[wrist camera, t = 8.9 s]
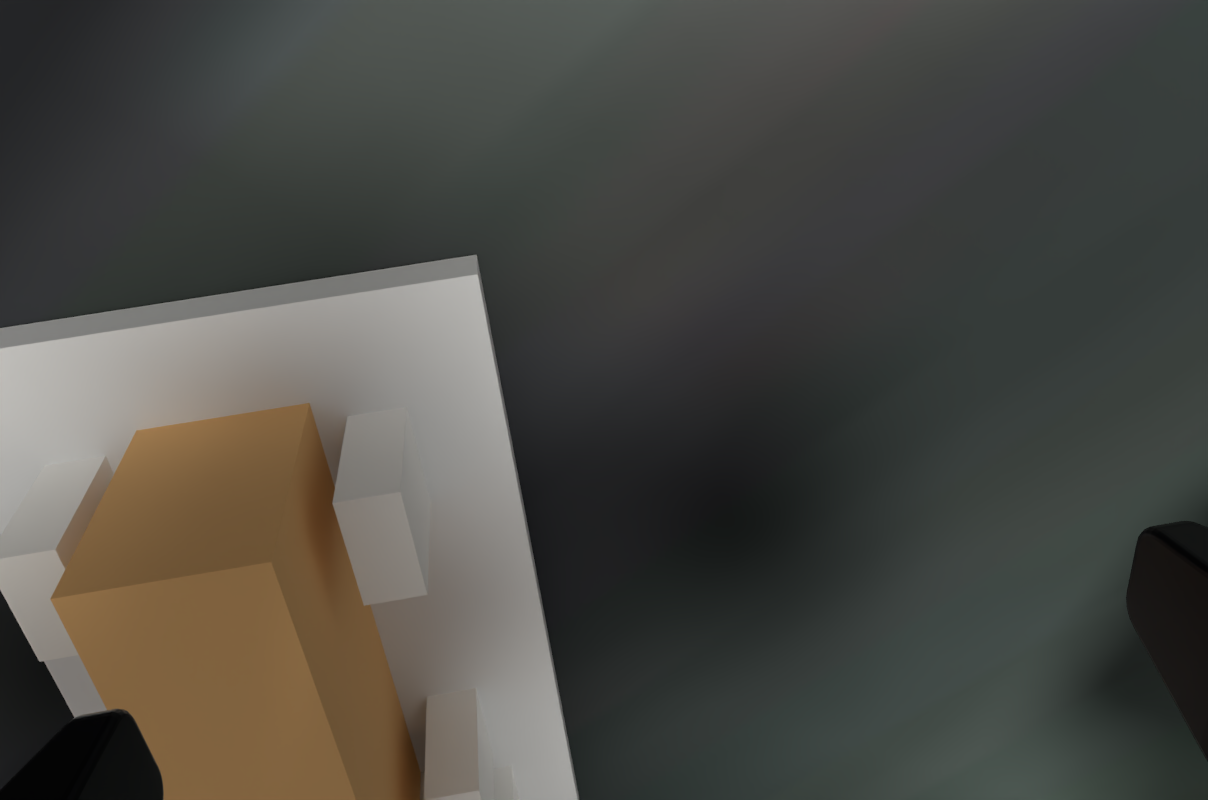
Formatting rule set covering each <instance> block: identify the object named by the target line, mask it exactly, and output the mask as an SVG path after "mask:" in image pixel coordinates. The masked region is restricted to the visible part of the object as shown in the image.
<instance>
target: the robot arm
mask: <svg viewBox="0 0 1208 800" xmlns="http://www.w3.org/2000/svg"><path fill="white" fill-rule="evenodd" d="M1126 603H1127V610H1128V614H1129V617H1130V620H1131V622H1132V624H1133V626H1134V628H1135V630H1136V632H1137V634H1138V636H1139V637H1140V639H1141V641H1142V643H1143V645H1144V647H1145V648H1146V650H1147V652H1148V654H1149V656H1150V658H1151V659H1152V661H1153V663H1154V665H1155V667H1156V669H1157V670H1158V672H1159V674H1160V676H1161V678H1162V680H1163V681H1164V683H1165V685H1166V687H1167V689H1168V691H1169V692H1170V694H1171V696H1172V698H1173V700H1174V702H1175V703H1176V705H1177V707H1178V709H1179V711H1180V713H1181V714H1182V716H1183V718H1184V720H1185V722H1186V723H1187V725H1188V727H1189V729H1190V731H1191V733H1192V734H1193V736H1194V738H1195V740H1196V742H1197V744H1198V745H1199V747H1200V749H1201V751H1202V752H1203V754H1204V756H1205V758H1206V759H1207V761H1208V528H1207V527H1205V526H1203V525H1200V524H1197V523H1195V522H1190V521H1180V522H1175V523H1169V524H1163V525H1158V526H1152V527H1149V528H1147V529H1145V530H1144V531H1143V532H1142V533H1141V534H1140V536H1139V537H1138V540H1137V544H1136V549H1135V554H1134V559H1133V564H1132V569H1131V574H1130V579H1129V584H1128V589H1127V595H1126ZM163 797H164V791H163V780H162V776H161V772H160V770H159V767H158V765H157V763H156V761H155V759H154V757H153V755H152V753H151V751H150V749H149V747H148V745H147V743H146V741H145V739H144V737H143V735H142V733H141V731H140V729H139V727H138V725H137V723H136V721H135V719H134V718H133V716H132V715H131V714H130V713H129V712H128V711H126V710H124V709H112V710H106V711H100V712H95V713H89V714H83V715H80V716H77V717H75V718H73V719H72V720H70V721H69V722H68V723H67V724H66V725H65V726H64V727H63V728H62V729H61V730H60V731H59V732H58V733H57V734H56V735H55V736H54V737H53V738H52V739H51V740H50V741H49V742H48V743H47V744H46V745H45V746H44V747H43V748H42V749H41V750H40V751H39V752H38V753H37V754H36V755H35V756H34V757H33V758H32V759H31V760H30V761H29V762H28V763H27V764H26V765H25V766H24V767H23V768H22V769H21V770H20V771H19V772H18V773H17V774H16V775H15V776H14V777H13V778H12V779H11V780H10V781H9V782H8V783H7V784H6V785H5V786H4V787H3V788H2V789H1V790H0V800H163Z"/></svg>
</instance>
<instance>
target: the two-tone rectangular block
mask: <svg viewBox="0 0 1208 800" xmlns="http://www.w3.org/2000/svg"><path fill="white" fill-rule="evenodd" d="M334 491H335V486H334V482H333V479H332V476H331V473H330V469H329V466H328V463H327V459H326V456H325V453H324V449H323V446H322V443H321V439H320V436H319V433H318V429H317V426H316V423H315V419H314V416H313V413H312V409H311V406H310V403H306V404H299V405H293V406H287V407H281V408H274V409H268V410H262V411H256V412H249V413H243V414H237V415H230V416H224V417H218V418H212V419H205V420H199V421H193V422H187V423H180V424H174V425H168V426H161V427H155V428H149V429H143V430H136V432H135V434H134V436H133V438H132V440H131V442H130V444H129V446H128V448H127V450H126V452H125V454H124V456H123V458H122V460H121V462H120V464H119V466H118V468H117V469H116V471H115V473H114V475H113V477H112V479H111V481H110V483H109V485H108V487H107V489H106V491H105V493H104V495H103V497H102V499H101V501H100V503H99V505H98V507H97V509H96V511H95V513H94V514H93V516H92V518H91V520H90V522H89V524H88V526H87V528H86V530H85V532H84V534H83V536H82V538H81V540H80V542H79V544H78V546H77V548H76V550H75V552H74V554H73V556H72V558H71V559H70V561H69V563H68V565H67V567H66V569H65V571H64V573H63V575H62V577H61V579H60V581H59V583H58V585H57V587H56V589H55V591H54V593H53V595H52V597H51V599H50V600H51V602H52V604H53V606H54V607H55V609H56V611H57V613H58V615H59V617H60V619H61V621H62V623H63V625H64V627H65V629H66V631H67V633H68V635H69V637H70V639H71V641H72V643H73V645H74V647H75V648H76V650H77V652H78V654H79V656H80V658H81V660H82V662H83V664H84V666H85V668H86V670H87V672H88V674H89V676H90V678H91V680H92V682H93V684H94V686H95V687H96V689H97V691H98V693H99V695H100V697H101V699H102V701H103V703H104V705H105V707H106V709H107V710H112V709H124V710H126V711H128V712H129V713H130V714H131V715H132V716H133V718H134V719H135V721H136V723H137V725H138V727H139V729H140V731H141V733H142V735H143V737H144V739H145V741H146V743H147V745H148V747H149V749H150V751H151V753H152V755H153V757H154V759H155V761H156V763H157V765H158V767H159V770H160V772H161V776H162V780H163V791H164V797H163V800H424V781H425V772H421V771H420V768H419V765H418V761H417V758H416V755H415V752H414V748H413V745H412V742H411V738H410V735H409V732H408V728H407V725H406V722H405V718H404V715H403V712H402V708H401V705H400V702H399V698H398V695H397V692H396V688H395V685H394V682H393V678H392V675H391V672H390V668H389V665H388V662H387V659H386V655H385V652H384V649H383V645H382V642H381V639H380V635H379V632H378V629H377V625H376V622H375V619H374V615H373V612H372V609H371V605H365V606H364V604H363V601H362V598H361V594H360V591H359V588H358V585H357V582H356V578H355V575H354V572H353V569H352V565H351V562H350V559H349V556H348V552H347V549H346V546H345V543H344V539H343V536H342V533H341V530H340V526H339V523H338V520H337V517H336V513H335V510H334V507H333V504H332V503H333V497H334Z"/></svg>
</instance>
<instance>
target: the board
mask: <svg viewBox="0 0 1208 800" xmlns="http://www.w3.org/2000/svg"><path fill="white" fill-rule="evenodd" d="M306 403H310V406H311V409H312V413H313V416H314V419H315V423H316V426H317V429H318V433H319V436H320V439H321V443H322V446H323V449H324V453H325V456H326V459H327V463H328V466H329V469H330V473H331V476H332V479H333V482H334V486H335V491H334V497H333V503H332V504H333V507H334V510H335V513H336V517H337V520H338V523H339V526H340V530H341V533H342V536H343V539H344V543H345V546H346V549H347V552H348V556H349V559H350V562H351V565H352V569H353V572H354V575H355V578H356V582H357V585H358V588H359V591H360V594H361V598H362V601H363V604H364V606H365V605H371V609H372V612H373V615H374V619H375V622H376V625H377V629H378V632H379V635H380V639H381V642H382V645H383V649H384V652H385V655H386V659H387V662H388V665H389V668H390V672H391V675H392V678H393V682H394V685H395V688H396V692H397V695H398V698H399V702H400V705H401V708H402V712H403V715H404V718H405V722H406V725H407V728H408V732H409V735H410V738H411V742H412V745H413V748H414V752H415V755H416V758H417V761H418V765H419V768H420V771H421V772H425V781H424V800H579V795H578V789H577V784H576V779H575V773H574V768H573V763H572V757H571V752H570V747H569V742H568V736H567V731H566V726H565V720H564V715H563V710H562V704H561V699H560V694H559V689H558V683H557V678H556V673H555V667H554V662H553V657H552V652H551V646H550V641H549V636H548V630H547V625H546V620H545V614H544V609H543V604H542V599H541V593H540V588H539V583H538V577H537V572H536V567H535V561H534V556H533V551H532V546H531V540H530V535H529V530H528V524H527V519H526V514H525V509H524V503H523V498H522V493H521V487H520V482H519V477H518V471H517V466H516V461H515V456H514V450H513V445H512V440H511V434H510V429H509V424H508V418H507V413H506V408H505V403H504V397H503V392H502V387H501V381H500V376H499V371H498V366H497V360H496V355H495V350H494V344H493V339H492V334H491V328H490V323H489V318H488V313H487V307H486V302H485V297H484V291H483V286H482V281H481V275H480V270H479V265H478V260H477V255H471V256H465V257H458V258H452V259H445V260H439V261H432V262H426V263H419V264H413V265H406V266H400V267H393V268H387V269H380V270H374V271H367V272H361V273H354V274H348V275H342V276H335V277H329V278H322V279H316V280H309V281H303V282H296V283H290V284H283V285H277V286H270V287H264V288H257V289H251V290H244V291H238V292H231V293H225V294H219V295H212V296H206V297H199V298H193V299H186V300H180V301H173V302H167V303H160V304H154V305H147V306H141V307H134V308H128V309H121V310H115V311H108V312H102V313H96V314H89V315H83V316H76V317H70V318H63V319H57V320H50V321H44V322H37V323H31V324H24V325H18V326H11V327H5V328H0V590H1V592H2V594H3V596H4V598H5V600H6V601H7V603H8V605H9V607H10V609H11V611H12V612H13V614H14V616H15V618H16V620H17V622H18V623H19V625H20V627H21V629H22V631H23V633H24V634H25V636H26V638H27V640H28V642H29V644H30V645H31V647H32V649H33V651H34V653H35V655H36V656H37V658H38V660H39V662H41V661H44V662H45V664H46V666H47V668H48V670H49V672H50V673H51V675H52V677H53V679H54V681H55V683H56V684H57V686H58V688H59V690H60V692H61V694H62V696H63V697H64V699H65V701H66V703H67V705H68V707H69V708H70V710H71V712H72V714H73V716H74V718H75V717H77V716H80V715H83V714H89V713H95V712H100V711H106V710H107V709H106V707H105V705H104V703H103V701H102V699H101V697H100V695H99V693H98V691H97V689H96V687H95V686H94V684H93V682H92V680H91V678H90V676H89V674H88V672H87V670H86V668H85V666H84V664H83V662H82V660H81V658H80V656H79V654H78V652H77V650H76V648H75V647H74V645H73V643H72V641H71V639H70V637H69V635H68V633H67V631H66V629H65V627H64V625H63V623H62V621H61V619H60V617H59V615H58V613H57V611H56V609H55V607H54V606H53V604H52V602H51V600H50V599H51V597H52V595H53V593H54V591H55V589H56V587H57V585H58V583H59V581H60V579H61V577H62V575H63V573H64V571H65V569H66V567H67V565H68V563H69V561H70V559H71V558H72V556H73V554H74V552H75V550H76V548H77V546H78V544H79V542H80V540H81V538H82V536H83V534H84V532H85V530H86V528H87V526H88V524H89V522H90V520H91V518H92V516H93V514H94V513H95V511H96V509H97V507H98V505H99V503H100V501H101V499H102V497H103V495H104V493H105V491H106V489H107V487H108V485H109V483H110V481H111V479H112V477H113V475H114V473H115V471H116V469H117V468H118V466H119V464H120V462H121V460H122V458H123V456H124V454H125V452H126V450H127V448H128V446H129V444H130V442H131V440H132V438H133V436H134V434H135V432H136V430H143V429H149V428H155V427H161V426H168V425H174V424H180V423H187V422H193V421H199V420H205V419H212V418H218V417H224V416H230V415H237V414H243V413H249V412H256V411H262V410H268V409H274V408H281V407H287V406H293V405H299V404H306Z"/></svg>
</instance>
